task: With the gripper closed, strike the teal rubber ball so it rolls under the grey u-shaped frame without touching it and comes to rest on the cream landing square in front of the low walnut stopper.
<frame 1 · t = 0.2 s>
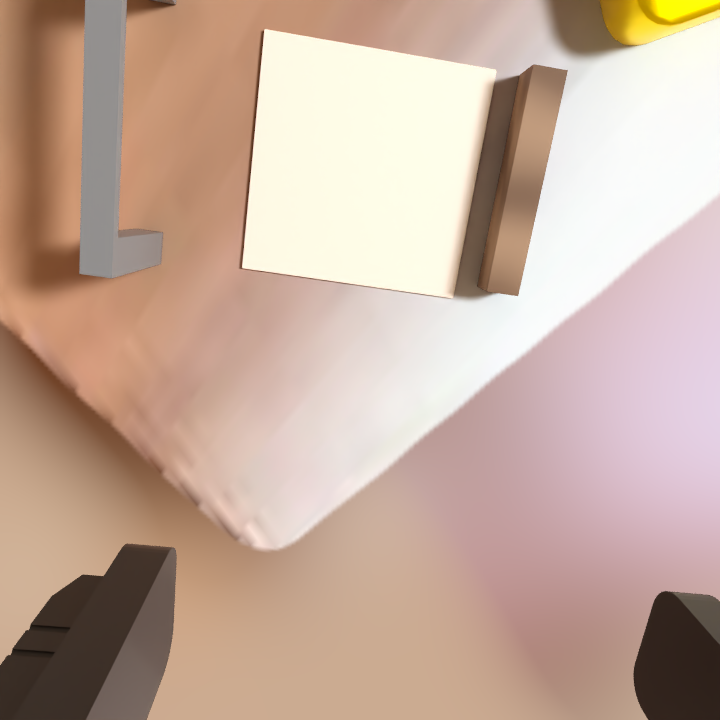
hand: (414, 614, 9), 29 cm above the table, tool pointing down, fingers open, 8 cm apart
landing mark: (364, 172, 35), on the table
stopper: (512, 187, 36), on the table
grey u-shaped frame: (155, 121, 34), on the table
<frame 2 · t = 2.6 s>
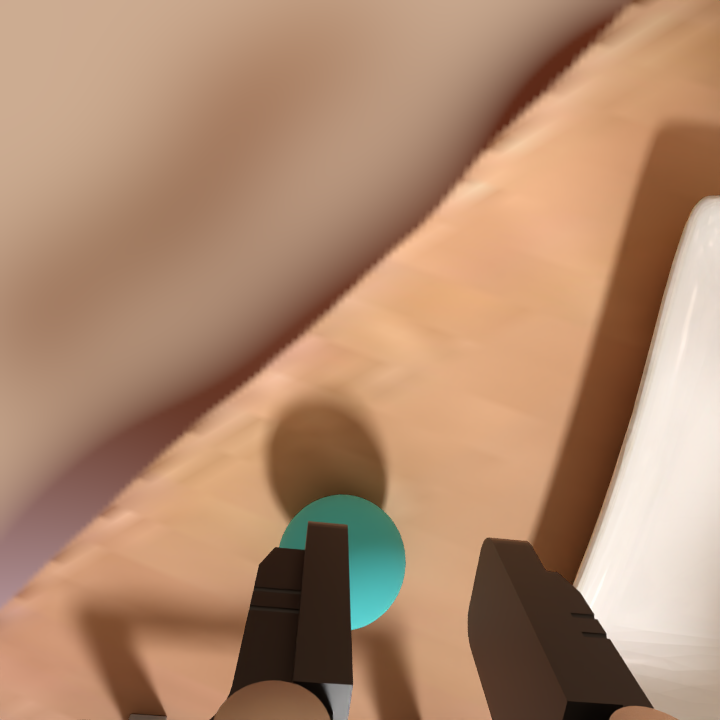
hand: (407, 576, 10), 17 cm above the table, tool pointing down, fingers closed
ball: (341, 560, 26), on the table
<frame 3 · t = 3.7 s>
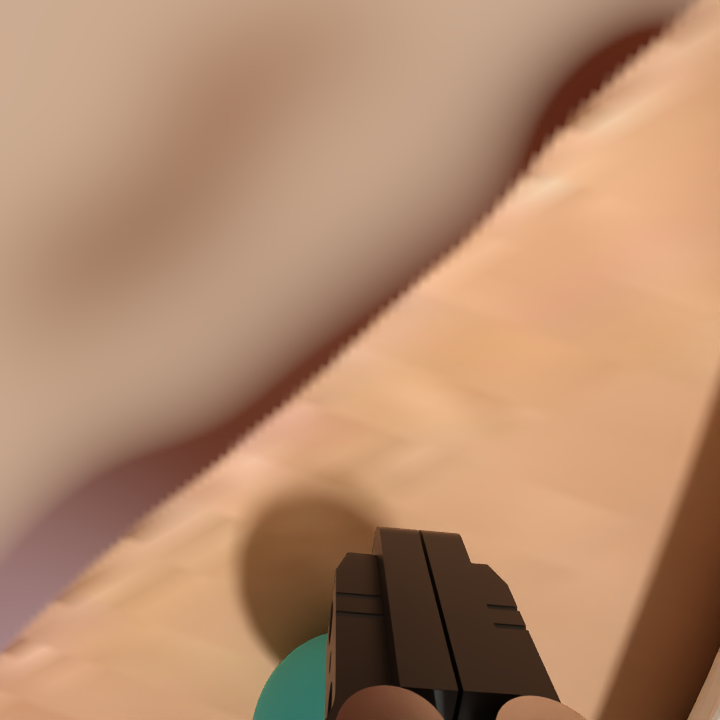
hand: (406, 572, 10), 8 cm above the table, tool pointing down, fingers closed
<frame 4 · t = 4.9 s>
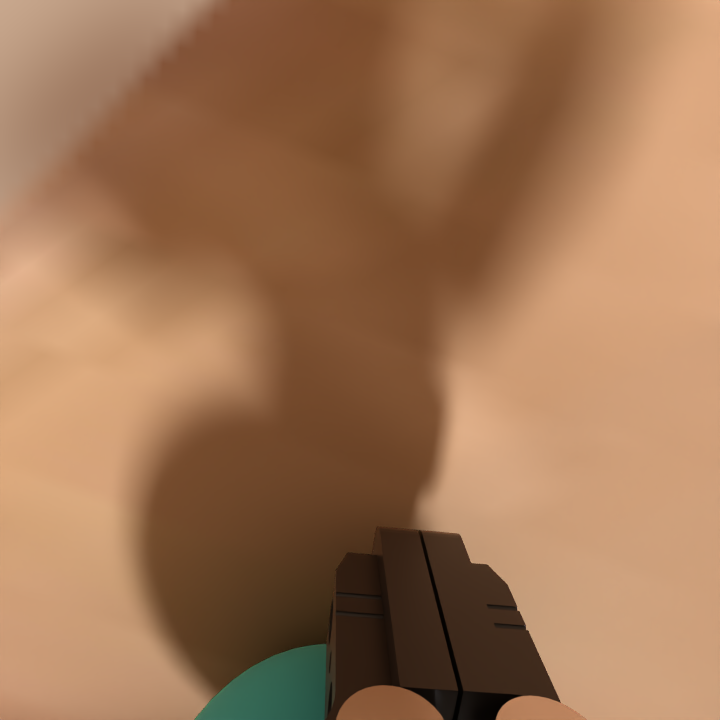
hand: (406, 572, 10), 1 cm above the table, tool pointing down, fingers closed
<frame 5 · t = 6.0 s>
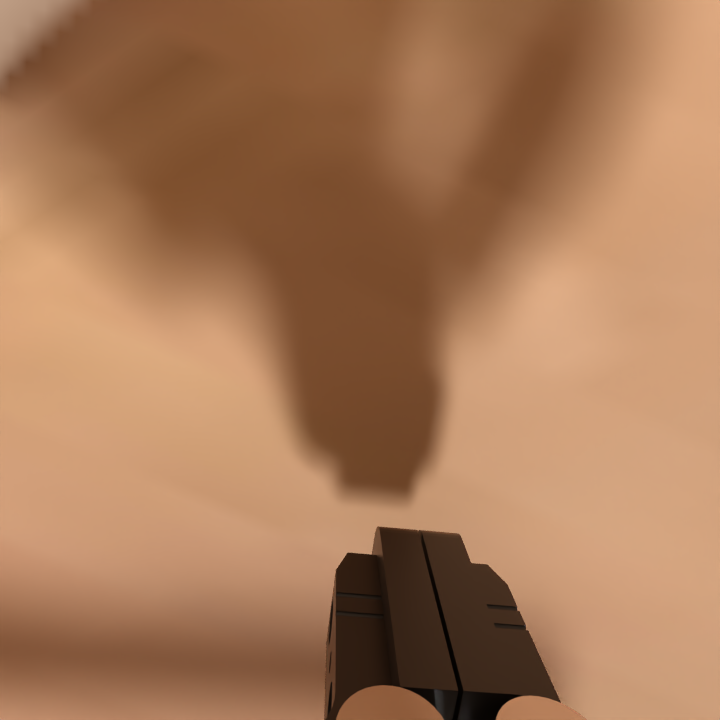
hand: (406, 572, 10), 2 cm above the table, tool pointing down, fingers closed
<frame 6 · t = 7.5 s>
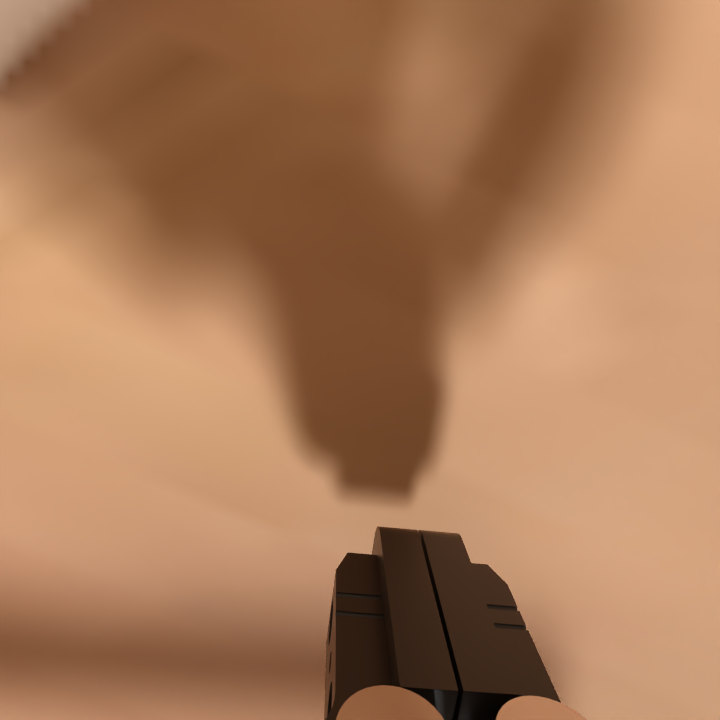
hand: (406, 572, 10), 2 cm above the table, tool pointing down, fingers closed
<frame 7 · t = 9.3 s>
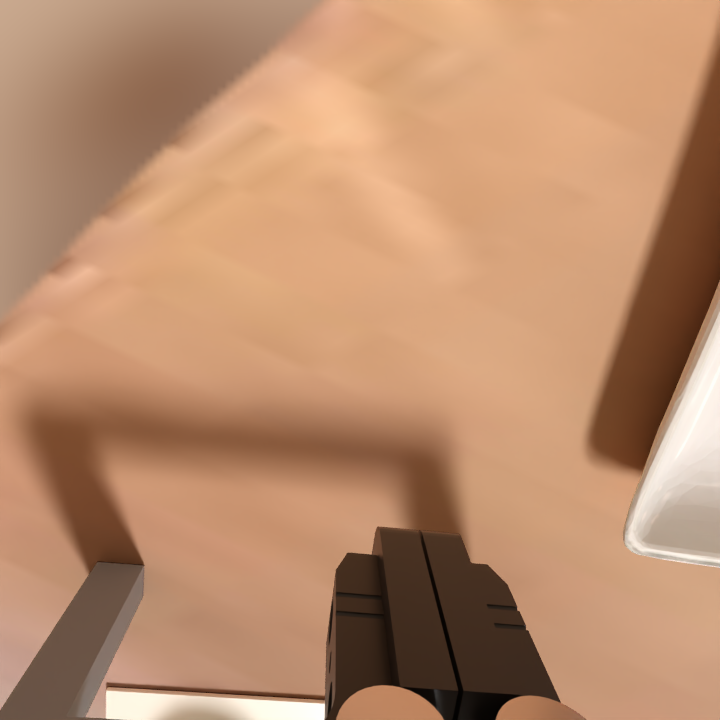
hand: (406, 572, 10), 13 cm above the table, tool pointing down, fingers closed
grey u-shaped frame: (289, 592, 25), on the table
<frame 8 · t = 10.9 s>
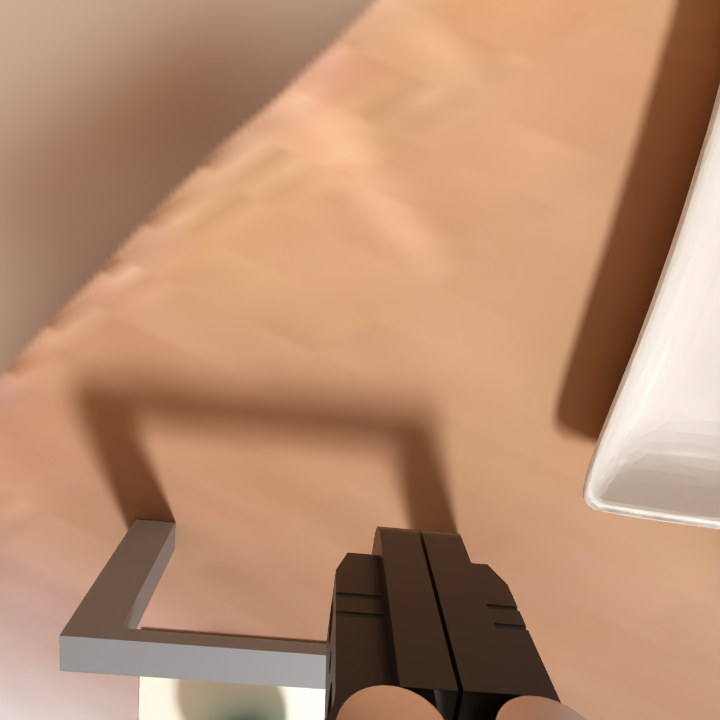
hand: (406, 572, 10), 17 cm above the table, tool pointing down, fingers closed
grey u-shaped frame: (300, 547, 29), on the table
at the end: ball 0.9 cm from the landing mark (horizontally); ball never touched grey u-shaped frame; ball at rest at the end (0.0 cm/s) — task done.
